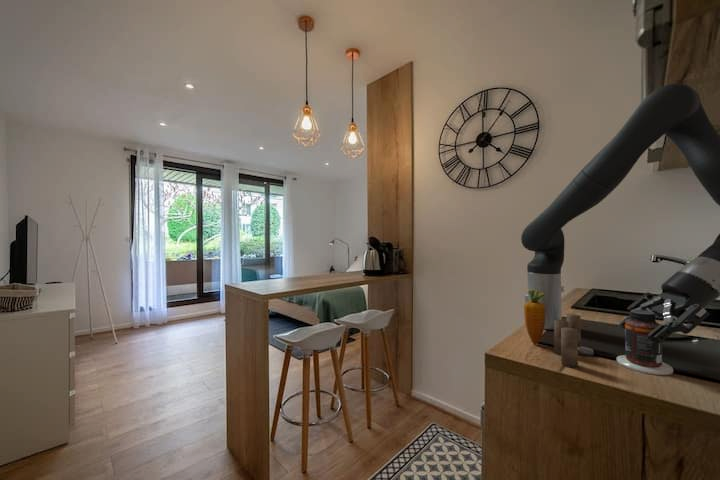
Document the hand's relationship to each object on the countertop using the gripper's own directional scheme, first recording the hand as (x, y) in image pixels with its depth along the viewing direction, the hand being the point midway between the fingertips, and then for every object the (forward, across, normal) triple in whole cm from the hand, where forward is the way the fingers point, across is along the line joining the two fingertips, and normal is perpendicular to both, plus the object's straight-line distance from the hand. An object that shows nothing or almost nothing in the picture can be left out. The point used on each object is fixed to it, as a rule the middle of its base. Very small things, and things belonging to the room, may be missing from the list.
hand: (636, 333), depth 65 cm
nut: (+10, -6, 0) cm, 12 cm away
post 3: (+15, +2, -5) cm, 16 cm away
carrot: (+17, -11, -7) cm, 21 cm away
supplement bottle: (+4, 0, +6) cm, 7 cm away
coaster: (+4, 0, +6) cm, 7 cm away
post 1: (+14, -5, -4) cm, 16 cm away
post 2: (+10, -11, 0) cm, 15 cm away
